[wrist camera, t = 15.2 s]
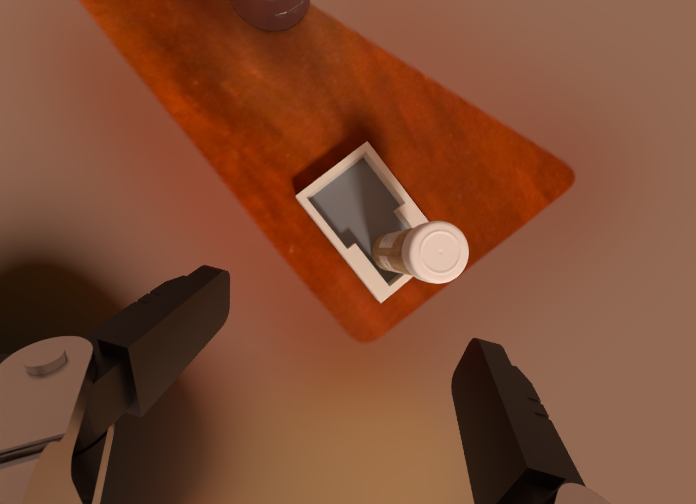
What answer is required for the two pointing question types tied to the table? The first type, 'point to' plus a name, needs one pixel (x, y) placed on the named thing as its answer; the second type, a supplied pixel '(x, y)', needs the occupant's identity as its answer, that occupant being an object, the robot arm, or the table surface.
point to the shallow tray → (362, 214)
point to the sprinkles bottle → (423, 252)
